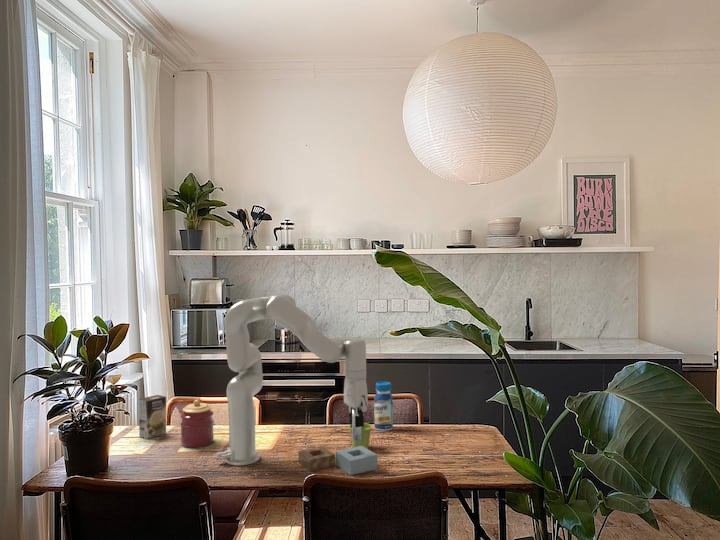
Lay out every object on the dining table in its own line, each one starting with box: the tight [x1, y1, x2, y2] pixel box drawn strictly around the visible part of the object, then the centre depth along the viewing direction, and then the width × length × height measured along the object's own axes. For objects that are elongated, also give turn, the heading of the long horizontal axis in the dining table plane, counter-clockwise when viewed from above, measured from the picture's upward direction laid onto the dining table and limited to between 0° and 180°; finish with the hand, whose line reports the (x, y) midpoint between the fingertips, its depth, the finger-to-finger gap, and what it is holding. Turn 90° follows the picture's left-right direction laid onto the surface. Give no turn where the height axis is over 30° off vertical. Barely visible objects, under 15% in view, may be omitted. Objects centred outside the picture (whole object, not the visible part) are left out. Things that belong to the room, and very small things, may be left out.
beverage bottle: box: [373, 381, 394, 432], centre depth 238 cm, size 8×8×20 cm
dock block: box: [335, 446, 379, 476], centre depth 195 cm, size 11×11×5 cm
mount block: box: [298, 446, 336, 472], centre depth 198 cm, size 10×10×4 cm
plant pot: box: [348, 422, 373, 450], centre depth 214 cm, size 9×9×9 cm
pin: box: [351, 405, 361, 440], centre depth 194 cm, size 3×3×12 cm
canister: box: [179, 399, 215, 449], centre depth 222 cm, size 13×13×18 cm
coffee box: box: [138, 394, 167, 440], centre depth 232 cm, size 9×6×16 cm
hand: (356, 424), depth 194 cm, fingers closed on pin, 3 cm apart
